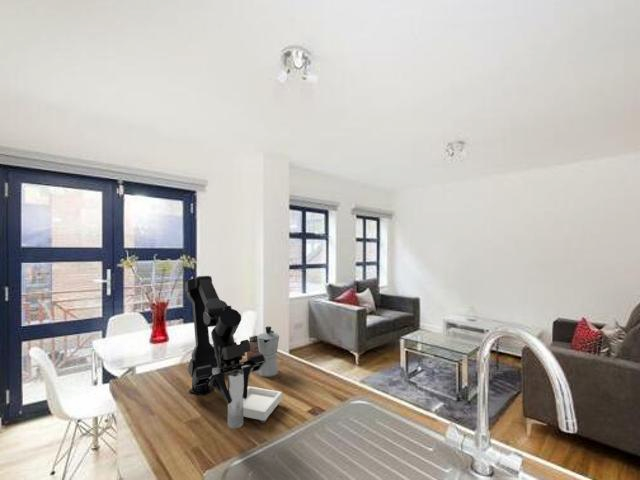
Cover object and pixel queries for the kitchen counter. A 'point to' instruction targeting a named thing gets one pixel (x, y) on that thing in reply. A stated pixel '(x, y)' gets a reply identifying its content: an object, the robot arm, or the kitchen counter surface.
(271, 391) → the white square tray
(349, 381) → the kitchen counter surface
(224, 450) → the kitchen counter surface
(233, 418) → the cylinder
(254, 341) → the lighter
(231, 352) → the robot arm
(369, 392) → the kitchen counter surface
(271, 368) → the coffee maker
